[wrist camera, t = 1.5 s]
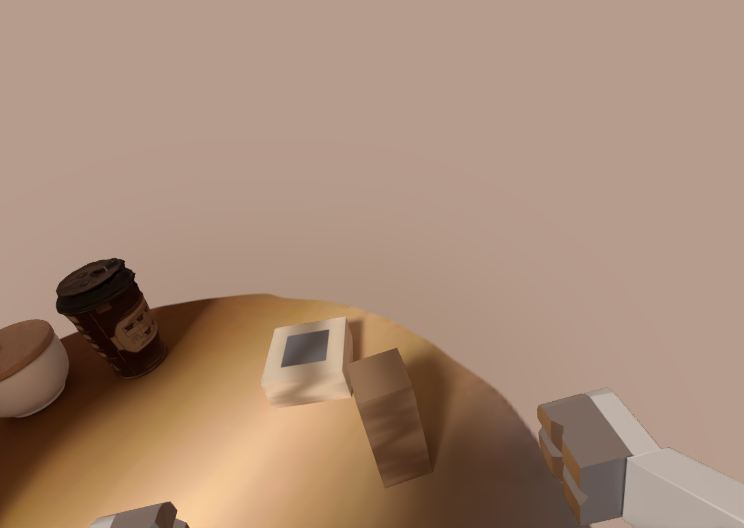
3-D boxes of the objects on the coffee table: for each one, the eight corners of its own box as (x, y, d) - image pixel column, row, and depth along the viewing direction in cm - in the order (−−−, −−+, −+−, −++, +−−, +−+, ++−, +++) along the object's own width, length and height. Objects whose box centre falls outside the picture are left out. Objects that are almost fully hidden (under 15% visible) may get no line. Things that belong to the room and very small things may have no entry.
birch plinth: (274, 411, 45) (260, 383, 43) (286, 354, 52) (275, 328, 50) (352, 399, 44) (342, 370, 42) (354, 343, 51) (345, 316, 49)
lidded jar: (78, 352, 61) (36, 297, 56) (92, 392, 53) (45, 332, 48) (-13, 400, 56) (-67, 345, 51) (-12, 453, 48) (-76, 393, 43)
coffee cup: (187, 331, 59) (140, 248, 53) (165, 378, 52) (108, 289, 46) (125, 343, 60) (71, 262, 53) (95, 392, 53) (28, 305, 46)
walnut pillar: (384, 488, 36) (356, 404, 30) (373, 446, 39) (346, 364, 34) (432, 471, 36) (412, 385, 31) (417, 431, 39) (397, 347, 34)
